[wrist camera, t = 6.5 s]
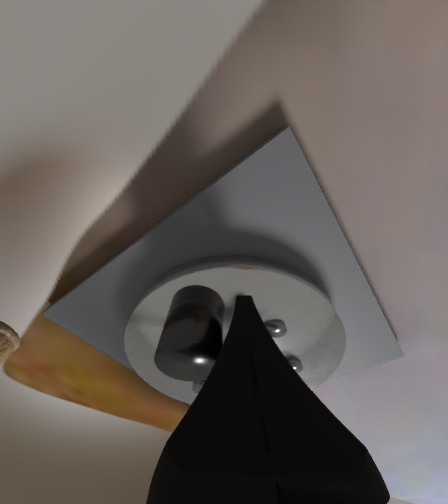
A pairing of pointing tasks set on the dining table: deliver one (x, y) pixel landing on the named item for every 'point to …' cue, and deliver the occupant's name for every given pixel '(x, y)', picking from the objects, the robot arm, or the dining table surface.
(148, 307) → the flange plate
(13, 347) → the sprinkles bottle
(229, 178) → the charcoal board
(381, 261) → the dining table surface
